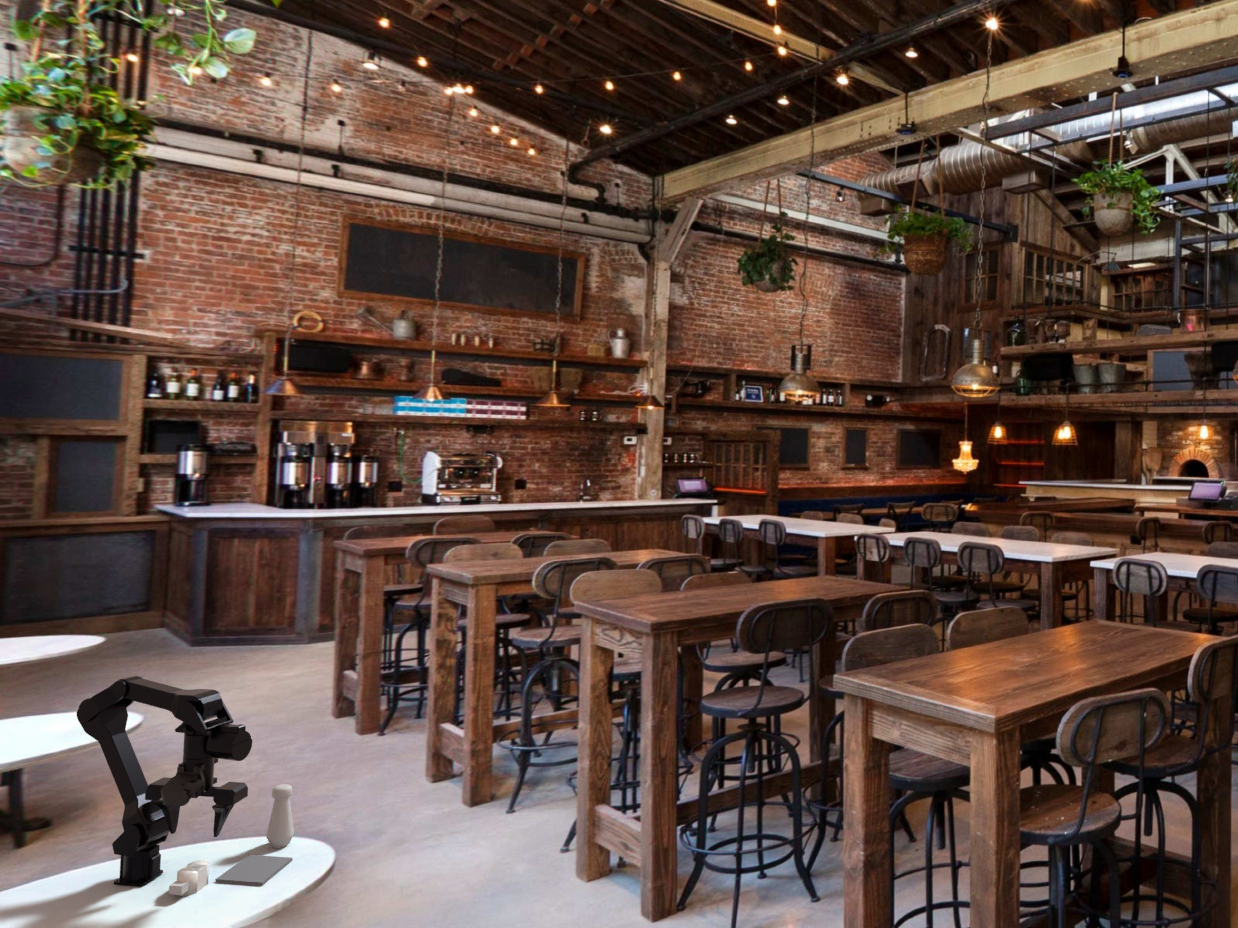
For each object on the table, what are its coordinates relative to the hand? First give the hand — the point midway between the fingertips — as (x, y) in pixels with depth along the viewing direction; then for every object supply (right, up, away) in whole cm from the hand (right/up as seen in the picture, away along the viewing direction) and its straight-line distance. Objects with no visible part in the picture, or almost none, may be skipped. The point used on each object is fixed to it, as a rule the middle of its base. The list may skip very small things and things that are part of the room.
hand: (194, 834), depth 164 cm
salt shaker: (+8, -12, +21) cm, 26 cm away
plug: (0, -10, -1) cm, 10 cm away
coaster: (+9, -11, +7) cm, 16 cm away
